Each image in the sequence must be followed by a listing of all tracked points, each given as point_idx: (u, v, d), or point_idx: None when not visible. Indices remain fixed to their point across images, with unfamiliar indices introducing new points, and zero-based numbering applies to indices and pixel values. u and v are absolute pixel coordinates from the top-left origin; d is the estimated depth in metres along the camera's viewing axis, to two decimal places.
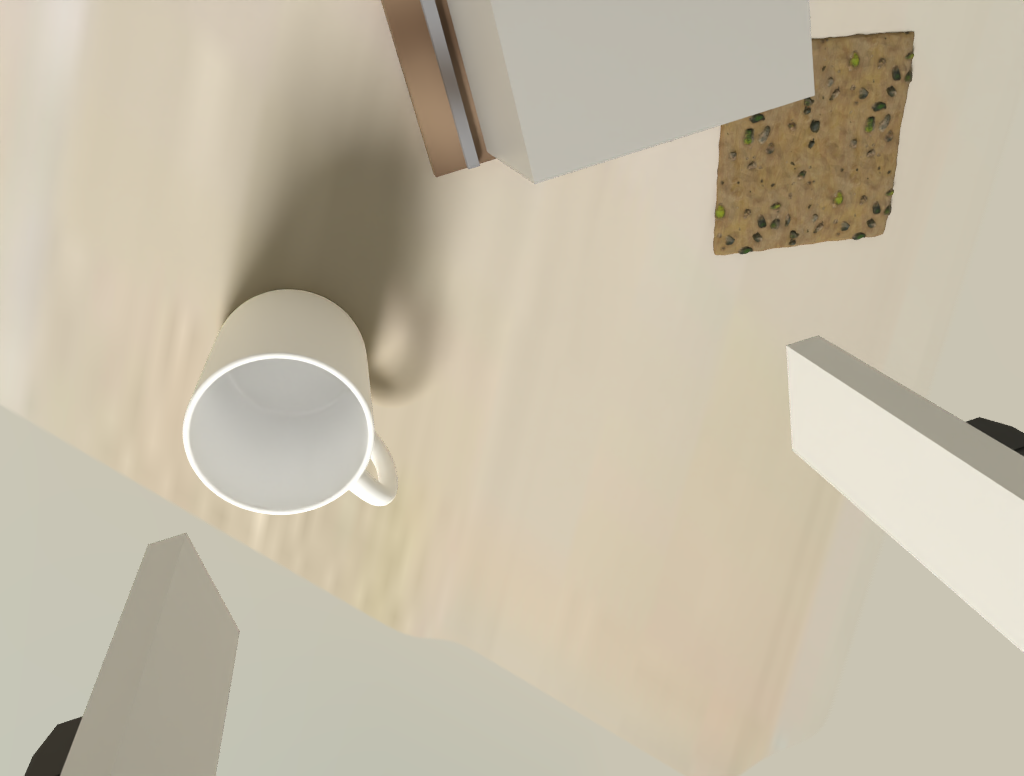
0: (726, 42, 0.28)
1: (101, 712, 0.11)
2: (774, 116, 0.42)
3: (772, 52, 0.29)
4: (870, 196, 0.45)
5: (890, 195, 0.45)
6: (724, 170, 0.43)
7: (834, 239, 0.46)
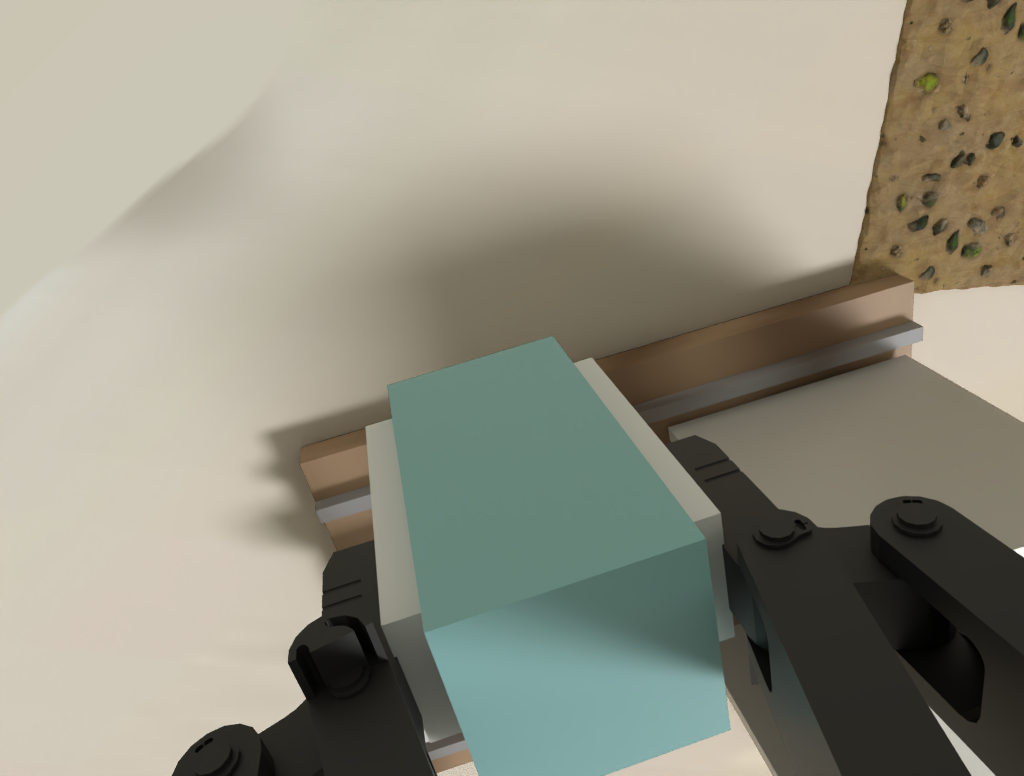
0: None
1: (389, 530, 0.13)
2: (960, 214, 0.28)
3: None
4: None
5: None
6: (1000, 281, 0.30)
7: None
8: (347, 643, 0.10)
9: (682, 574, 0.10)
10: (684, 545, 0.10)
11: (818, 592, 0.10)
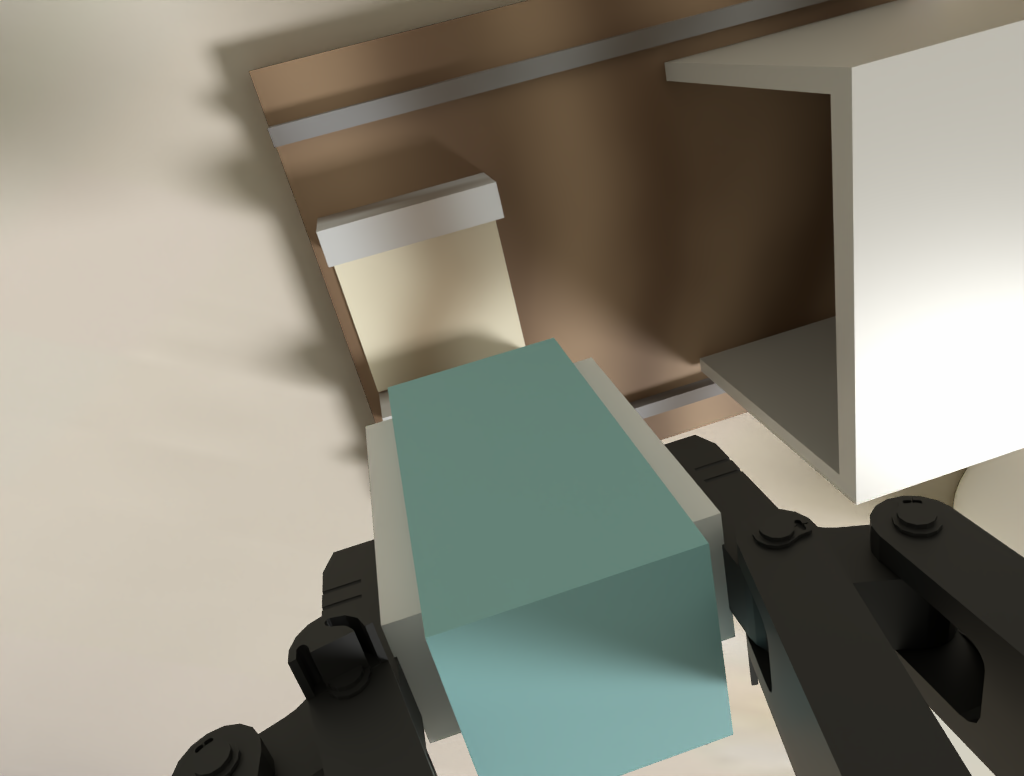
0: None
1: (389, 530, 0.13)
2: None
3: None
4: None
5: None
6: None
7: None
8: (347, 643, 0.10)
9: (686, 579, 0.10)
10: (687, 550, 0.10)
11: (818, 592, 0.10)
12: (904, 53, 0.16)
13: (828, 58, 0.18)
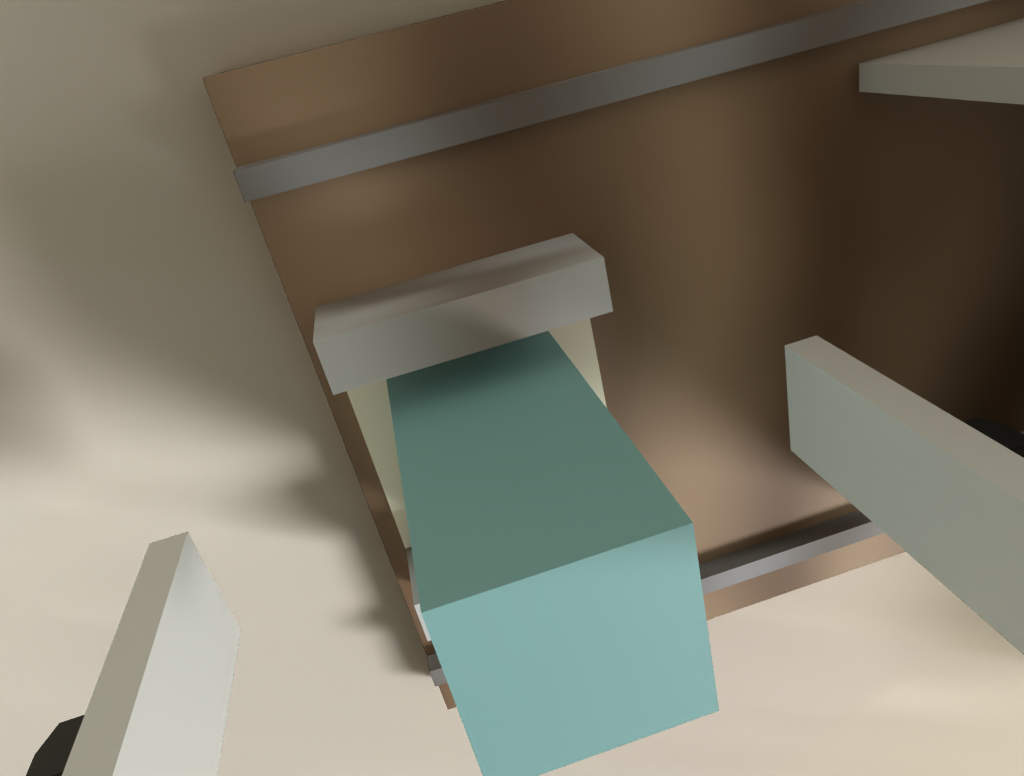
0: None
1: (103, 710, 0.11)
2: None
3: None
4: None
5: None
6: None
7: None
8: None
9: (671, 557, 0.11)
10: (672, 529, 0.10)
11: None
12: None
13: None
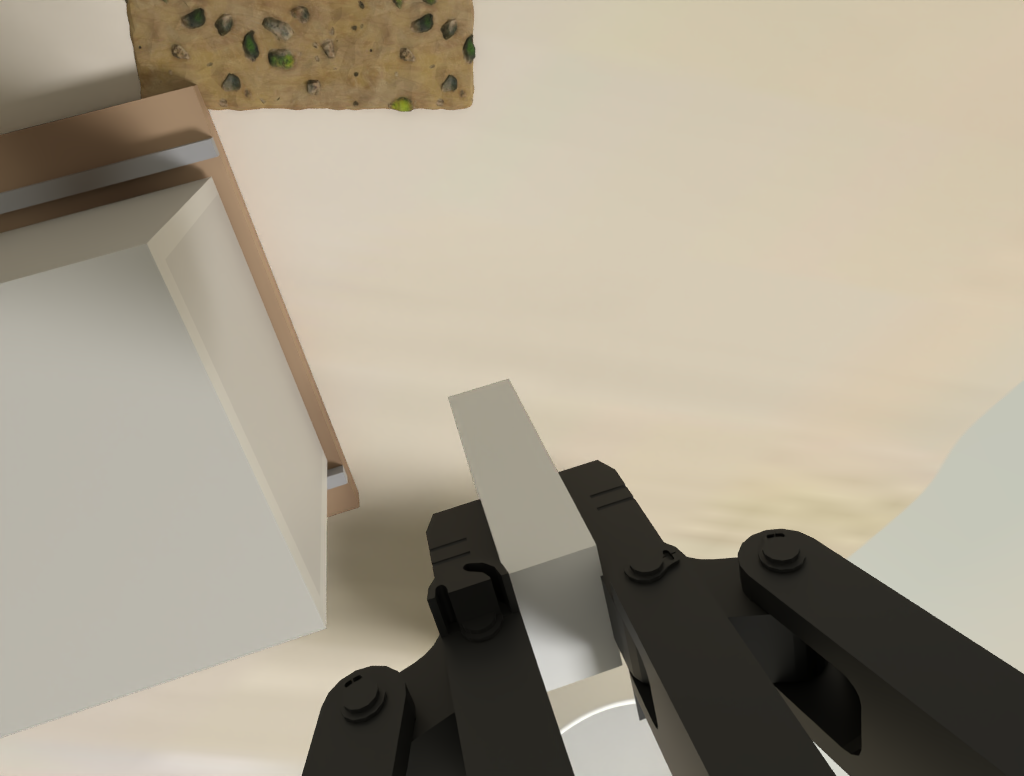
0: (89, 415, 0.18)
1: (494, 489, 0.13)
2: (245, 11, 0.25)
3: (89, 336, 0.17)
4: None
5: None
6: (336, 101, 0.27)
7: None
8: (483, 589, 0.10)
9: None
10: None
11: (691, 623, 0.10)
12: None
13: None
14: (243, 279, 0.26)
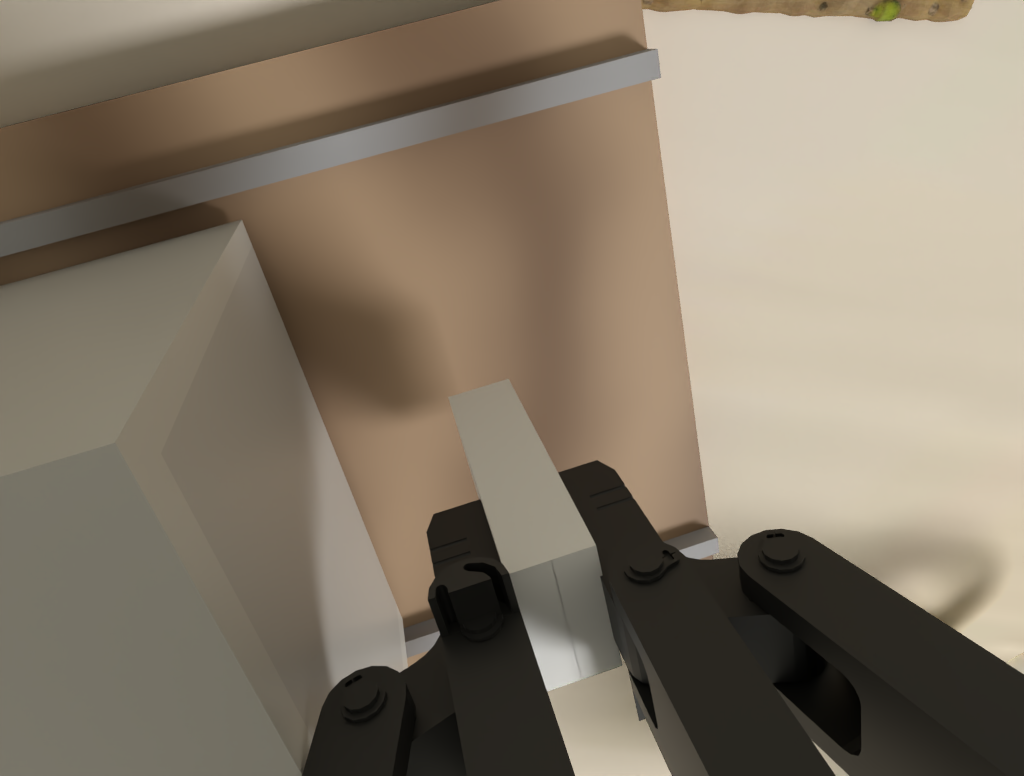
0: None
1: (494, 489, 0.13)
2: None
3: None
4: None
5: None
6: (799, 1, 0.18)
7: None
8: (483, 589, 0.10)
9: None
10: None
11: (691, 623, 0.10)
12: None
13: None
14: (292, 385, 0.16)
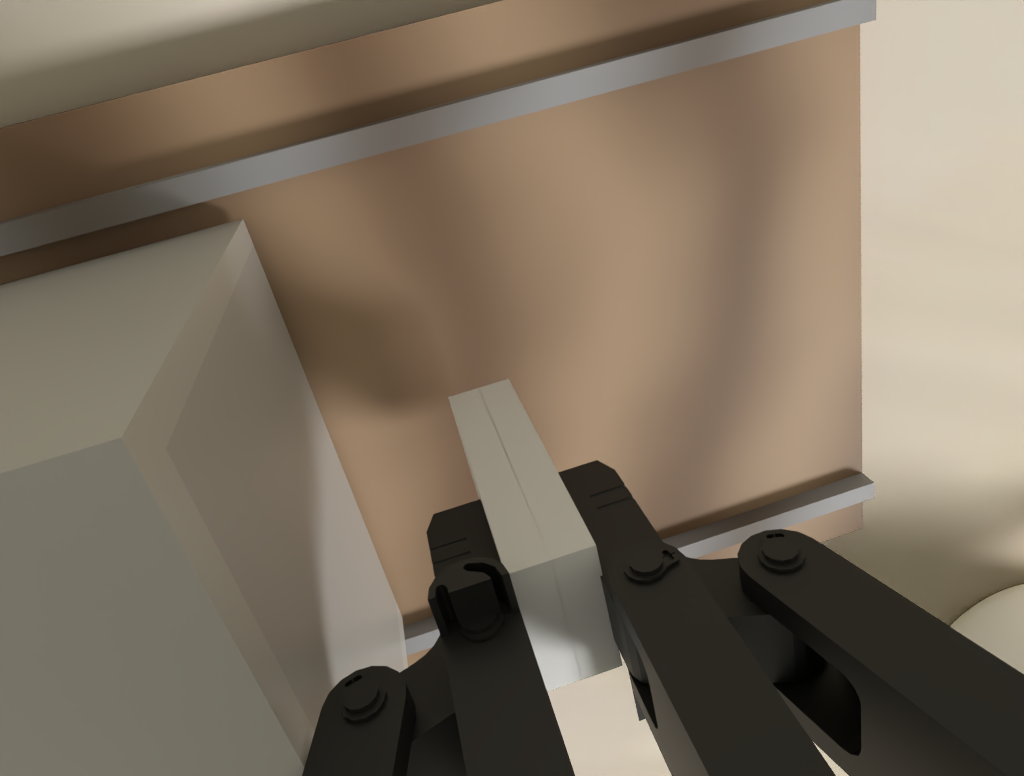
0: (3, 775, 0.08)
1: (494, 489, 0.13)
2: None
3: None
4: None
5: None
6: None
7: None
8: (483, 589, 0.10)
9: None
10: None
11: (691, 623, 0.10)
12: None
13: None
14: (293, 383, 0.16)
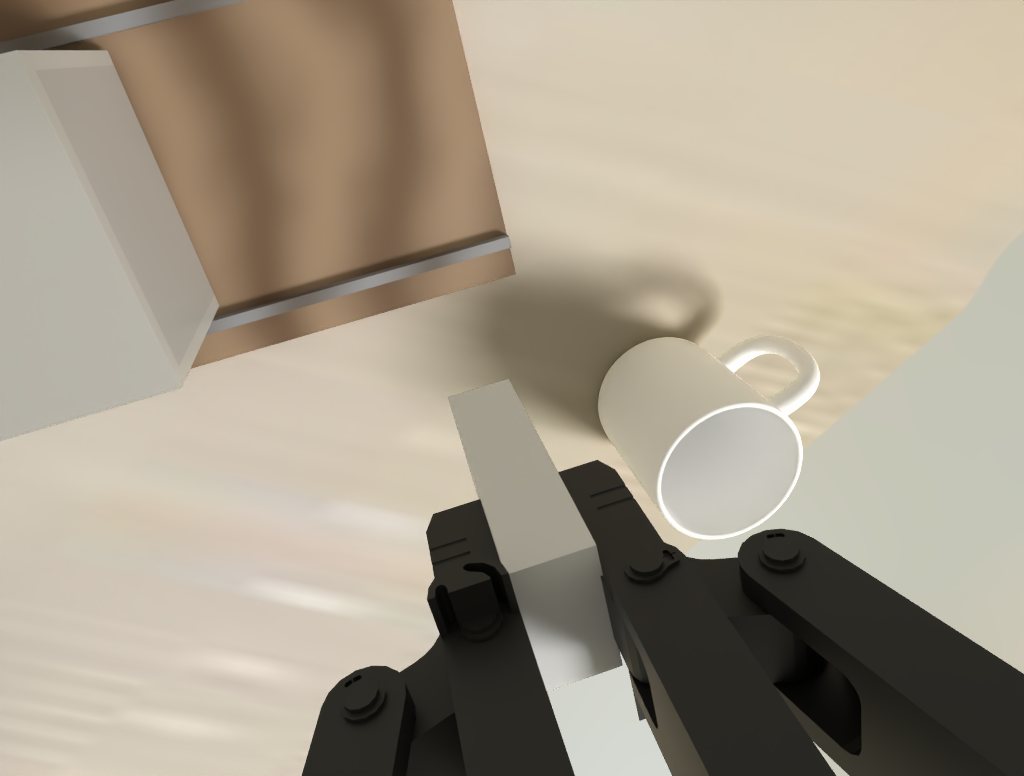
0: None
1: (494, 489, 0.13)
2: None
3: None
4: None
5: None
6: None
7: None
8: (483, 589, 0.10)
9: None
10: None
11: (691, 623, 0.10)
12: None
13: None
14: (132, 133, 0.32)
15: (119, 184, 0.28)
